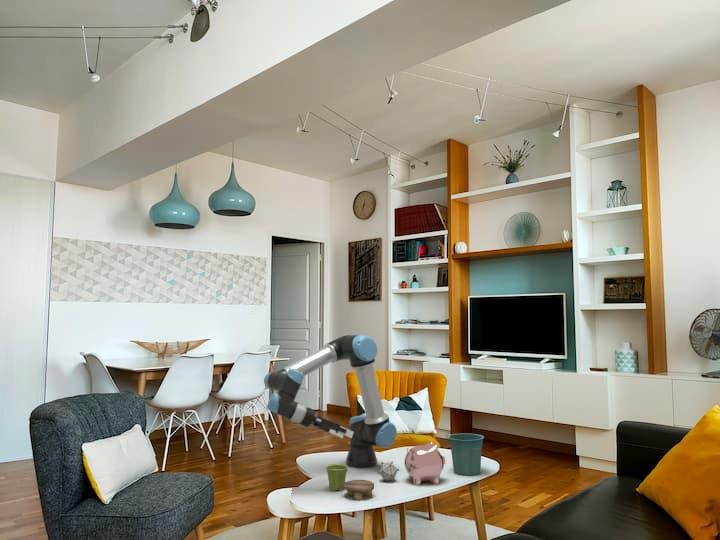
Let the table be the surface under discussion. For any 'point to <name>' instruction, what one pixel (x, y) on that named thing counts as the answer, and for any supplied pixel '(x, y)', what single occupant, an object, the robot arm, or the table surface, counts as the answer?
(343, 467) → the plant pot
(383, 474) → the game die
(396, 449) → the table surface
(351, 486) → the stand
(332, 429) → the robot arm
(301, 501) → the table surface
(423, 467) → the piggy bank
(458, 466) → the flower pot
